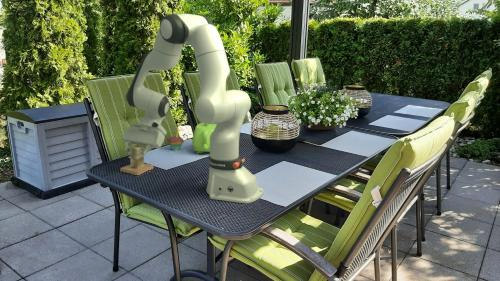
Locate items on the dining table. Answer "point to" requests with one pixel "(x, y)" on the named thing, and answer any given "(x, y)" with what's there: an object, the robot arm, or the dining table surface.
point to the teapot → (202, 137)
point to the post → (136, 156)
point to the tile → (137, 171)
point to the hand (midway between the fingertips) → (135, 152)
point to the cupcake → (175, 142)
